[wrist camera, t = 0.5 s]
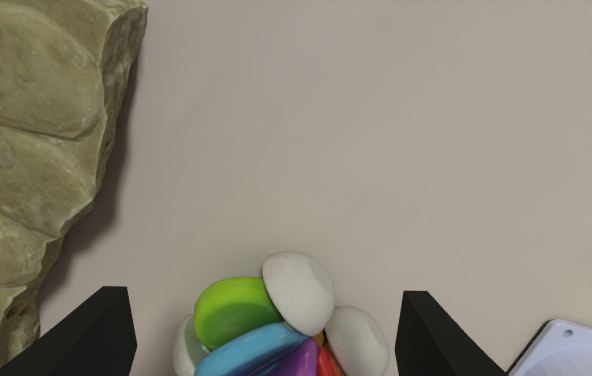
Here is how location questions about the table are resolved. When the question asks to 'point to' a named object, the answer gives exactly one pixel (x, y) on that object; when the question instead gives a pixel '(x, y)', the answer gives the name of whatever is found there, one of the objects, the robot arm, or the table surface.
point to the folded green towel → (54, 135)
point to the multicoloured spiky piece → (278, 327)
